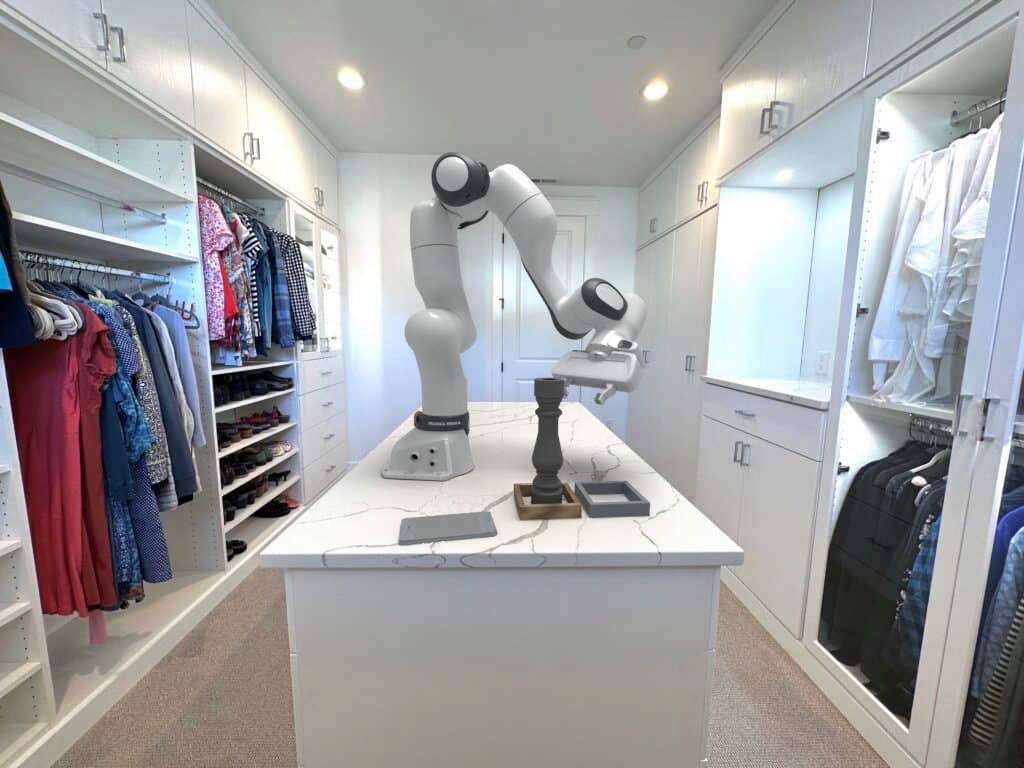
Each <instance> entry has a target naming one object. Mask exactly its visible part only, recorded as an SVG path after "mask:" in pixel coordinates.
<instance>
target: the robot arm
mask: <svg viewBox="0 0 1024 768" xmlns="http://www.w3.org/2000/svg"><path fill="white" fill-rule="evenodd" d="M430 179H431V180H430V181H431V185H432V188H433V192H434V195H435V196H434V197H433V198H432V199H429V200H423V201H419V203H417V204H415V205H414V206H413V208H412V209H411V212H410V217H409V218H410V219H409V221H410V222H409V241H410V242H409V245H410V246H409V247H410V254H411V255H410V256H411V263H412V269H413V270H412V271H413V272H412V273H413V281H414V285H415V288H416V290H417V291H418V293H419V295H420V297H421V299H422V301H423V304H424V306H425V308H424V309H422V310H420V311H419V310H418V311H417V312H414V313H413V314H411V316H410V317H408V319H407V321H406V323H405V325H404V338H405V341H406V344H407V345H408V347H409V348H410V349H411V350H412V352H413V354H414V357H415V360H416V364H417V368H418V372H419V377H420V382H421V383H420V384H421V404H422V405H421V409H422V410H417V411H415V413H414V414H413V428H412V429H410V431H408V432H407V433H406V434H405V435H403V436H402V437H401V438H399V439H398V440H397V441H396V442H395V443H394V445H393V446H392V450H391V452H390V453H391V454H390V458H389V459H387V460H386V461H385V462H384V463H383V464H382V466H381V469H380V474H381V476H382V477H383V479H384V478H385V479H396V480H397V479H401V480H403V479H404V480H421V481H422V480H424V481H439V482H440V481H441V482H442V481H448V480H449V479H452V478H453V477H457V476H460V475H464V474H466V473H469V472H471V471H472V470H473V469H474V468H475V464H474V461H473V456H472V452H471V447H470V438H469V437H470V436H469V434H470V432H471V430H470V429H471V426H470V425H471V420H470V419H471V416H470V411H469V410H468V380H467V379H468V378H467V377H466V375H465V373H464V370H463V365H462V361H461V354H463V353H465V352H466V351H468V350H469V349H470V348H472V347H473V345H474V343H475V342H476V341H477V336H478V330H477V327H476V324H475V322H474V321H473V318H472V314H471V311H470V306H469V302H468V300H467V296H466V293H465V290H464V284H463V279H462V270H461V262H460V254H459V252H460V251H459V244H458V234H457V233H458V230H464V229H466V228H468V227H469V226H473V225H476V224H478V223H480V222H482V221H483V220H484V219H485V218H486V217H487V215H488V214H489V212H491V213H492V214H493V215H495V217H497V219H498V220H499V222H500V223H501V224H502V226H503V227H504V229H505V230H506V232H507V233H508V234H509V235H510V237H511V239H512V240H513V242H514V245H515V246H516V248H517V251H518V254H519V256H520V260H521V264H522V266H523V268H524V270H525V272H526V274H527V276H528V278H529V279H530V281H531V282H532V284H533V285H534V288H535V290H536V291H537V292H538V294H539V296H540V297H541V299H542V301H543V303H544V305H545V306H546V308H547V310H548V313H549V314H550V317H551V320H552V324H553V326H554V328H555V330H556V331H557V332H558V334H560V335H561V336H562V337H564V338H566V339H568V340H573V341H576V340H577V341H578V340H581V339H583V338H584V337H586V335H588V334H589V333H590V332H591V331H592V330H594V334H593V336H592V337H591V339H590V340H589V342H588V344H587V346H586V347H585V349H584V350H583V349H582V350H581V349H580V350H578V349H573V350H572V351H568V352H566V353H565V354H563V355H562V356H561V358H559V360H558V361H557V362H556V363H555V364H554V366H553V368H552V369H551V375H552V378H561V379H564V396H563V397H562V399H564V400H565V399H567V397H568V396H569V392H568V390H567V388H570V387H571V386H578V387H579V386H580V387H586V388H591V389H593V388H594V389H600V390H602V391H601V393H600V392H596V394H595V397H593V398H594V399H593V400H594V402H595V404H596V405H601V406H604V404H606V401H607V400H608V399H610V398H611V397H613V396H614V395H615V394H616V393H617V392H621V393H622V392H623V393H627V394H628V393H629V394H630V393H632V392H634V391H636V389H637V388H638V386H639V385H640V382H641V380H642V378H643V374H644V373H643V372H644V371H643V369H644V368H645V367H646V360H645V357H644V354H643V352H642V349H641V347H640V346H639V344H638V343H637V342H636V340H637V339H638V337H639V335H640V333H641V332H642V329H643V326H644V325H645V322H646V318H647V305H646V302H645V301H644V300H643V298H641V297H640V296H639V295H638V294H635V293H632V292H623V291H620V290H618V288H616V287H615V286H614V285H613V284H612V283H611V282H609V281H607V280H605V279H603V278H600V277H599V278H598V277H591V278H587V280H585V281H584V282H583V283H582V284H581V285H580V286H579V287H578V288H577V289H575V290H574V291H573V293H572V294H570V295H569V294H568V291H567V290H566V289H565V286H564V285H563V284H562V282H561V280H560V278H559V276H558V274H557V272H556V271H555V269H554V267H553V264H552V253H553V248H554V243H555V239H556V237H557V236H556V235H557V232H558V217H557V214H556V212H555V210H554V208H553V206H552V205H551V203H550V202H549V201H548V199H547V197H546V196H545V195H544V193H542V191H541V190H540V189H539V187H538V186H537V185H536V184H535V183H534V182H533V181H532V179H530V178H529V176H528V175H526V174H525V173H524V172H523V170H521V169H520V168H518V167H517V166H516V165H514V164H511V163H506V164H502V165H500V166H497V167H496V168H495V169H493V170H492V171H489V168H488V166H487V165H486V164H485V163H483V162H480V161H478V160H476V159H473V158H472V157H470V156H468V155H466V154H464V153H460V152H459V151H449V152H446V153H444V154H442V155H441V156H439V158H437V159H436V161H435V163H434V164H433V166H432V170H431V177H430Z"/></svg>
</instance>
